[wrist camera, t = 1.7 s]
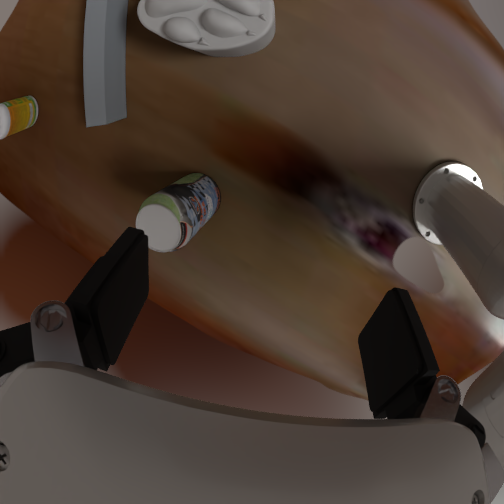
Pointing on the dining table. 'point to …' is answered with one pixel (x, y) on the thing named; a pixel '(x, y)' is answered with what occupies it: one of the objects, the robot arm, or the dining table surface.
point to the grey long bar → (104, 61)
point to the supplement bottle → (17, 115)
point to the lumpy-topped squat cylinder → (212, 24)
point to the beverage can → (178, 212)
